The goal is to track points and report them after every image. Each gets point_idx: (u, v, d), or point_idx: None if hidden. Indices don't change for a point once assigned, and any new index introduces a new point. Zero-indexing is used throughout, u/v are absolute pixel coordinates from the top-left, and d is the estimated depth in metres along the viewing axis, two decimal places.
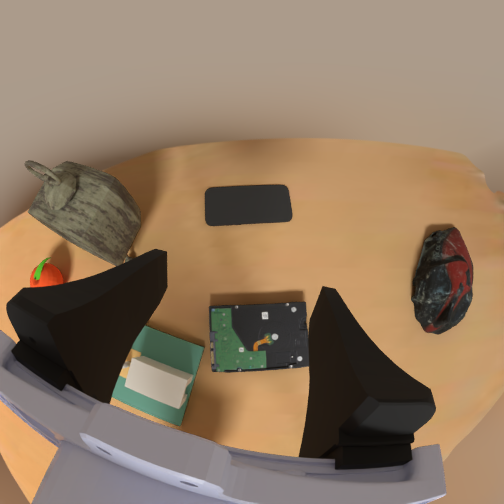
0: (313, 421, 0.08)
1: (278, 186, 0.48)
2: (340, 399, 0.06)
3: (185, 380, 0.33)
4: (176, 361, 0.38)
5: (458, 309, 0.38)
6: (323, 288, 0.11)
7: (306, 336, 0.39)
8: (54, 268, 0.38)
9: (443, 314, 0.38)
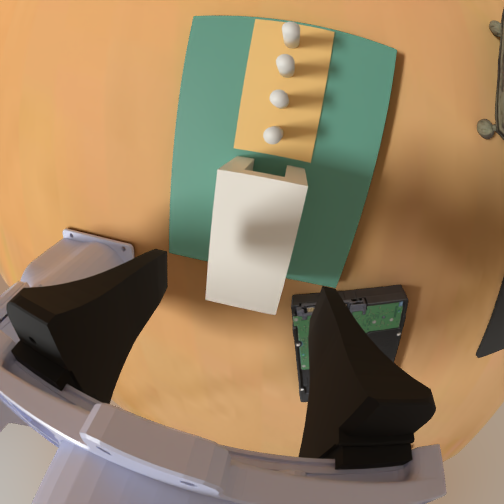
0: (313, 421, 0.08)
1: None
2: (340, 399, 0.06)
3: (273, 311, 0.17)
4: (303, 242, 0.20)
5: None
6: (323, 288, 0.11)
7: None
8: None
9: None
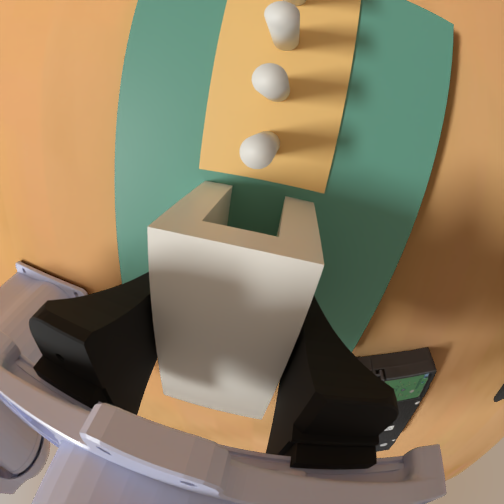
0: (278, 417, 0.08)
1: None
2: (297, 394, 0.06)
3: (259, 416, 0.10)
4: None
5: None
6: None
7: None
8: None
9: None
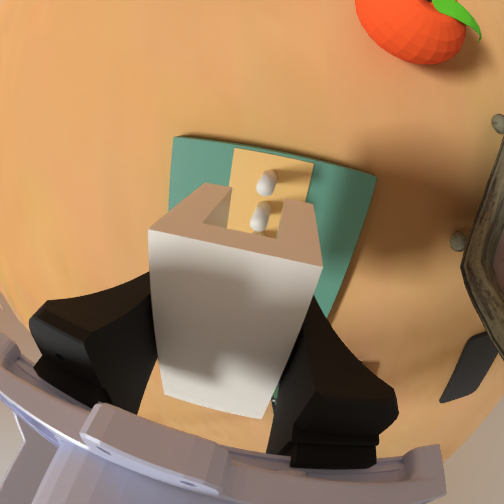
0: (278, 417, 0.08)
1: (476, 387, 0.26)
2: (297, 394, 0.06)
3: (258, 416, 0.11)
4: None
5: None
6: None
7: None
8: (457, 50, 0.08)
9: None
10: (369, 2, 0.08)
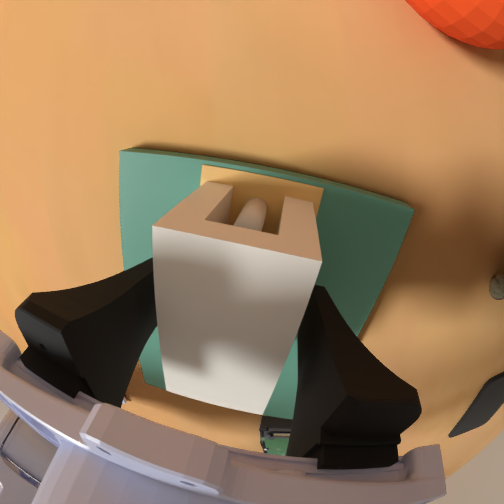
0: (299, 420, 0.08)
1: (488, 419, 0.20)
2: (323, 397, 0.06)
3: (260, 411, 0.11)
4: None
5: None
6: None
7: None
8: None
9: None
10: None
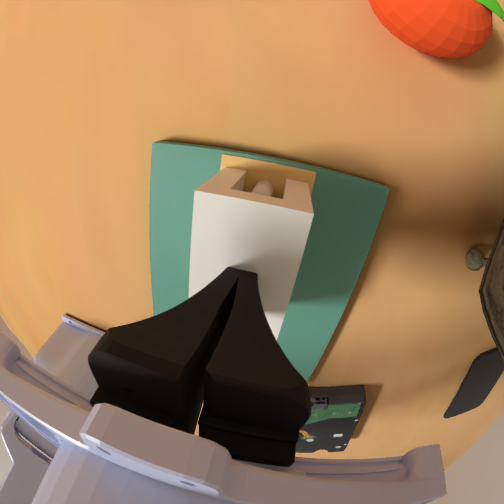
0: None
1: (482, 401, 0.23)
2: None
3: None
4: None
5: None
6: (242, 271, 0.11)
7: (305, 452, 0.29)
8: (483, 43, 0.06)
9: None
10: None
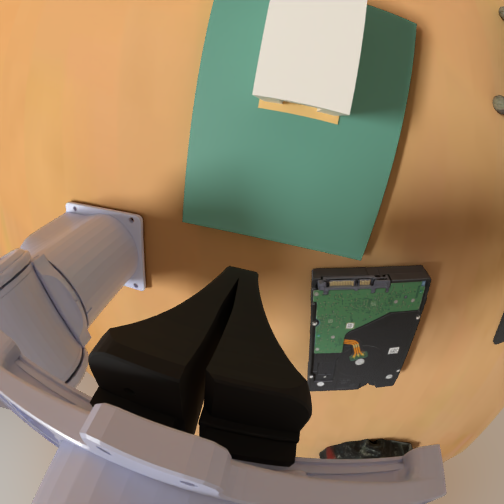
0: None
1: None
2: None
3: (347, 109, 0.11)
4: (329, 208, 0.18)
5: None
6: (242, 271, 0.11)
7: (349, 388, 0.26)
8: None
9: None
10: None
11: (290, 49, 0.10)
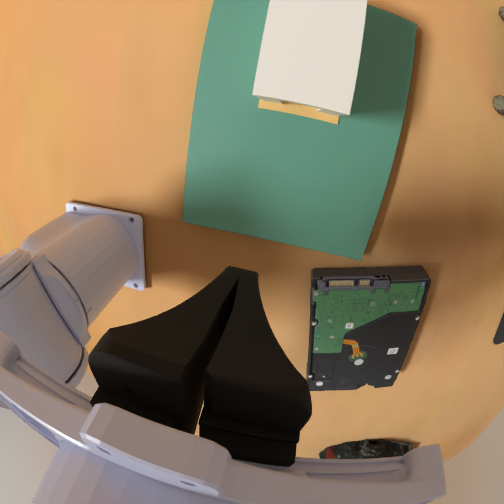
0: None
1: None
2: None
3: (347, 109, 0.11)
4: (329, 208, 0.18)
5: None
6: (242, 271, 0.11)
7: (348, 388, 0.26)
8: None
9: None
10: None
11: (290, 49, 0.10)
